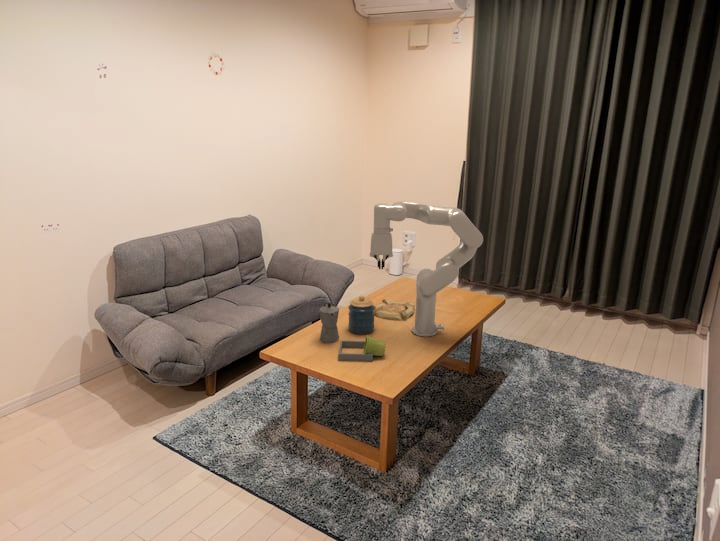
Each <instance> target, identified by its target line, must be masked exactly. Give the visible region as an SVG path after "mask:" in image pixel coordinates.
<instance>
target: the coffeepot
mask: <svg viewBox="0 0 720 541" xmlns="http://www.w3.org/2000/svg"><path fill="white" fill-rule="evenodd" d="M318 310H319V317H320V322H321V324H322V325H321V330H320V336H319V340H320V341H321V342H323V343H327V344H329V343H330V344H332V343H336V342H338V341H339V339H340V335H339V334H340V333H339V329H338V326H337V323H338V319H339V313H340V312H339V311H340V308H339V307H337V306H335V305H334V306H333V305H332V303H330V302H329V303H327V302H325V303H324V304H323V306H321V307H320V309H318Z"/></svg>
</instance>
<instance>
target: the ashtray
mask: <svg viewBox="0 0 720 541" xmlns="http://www.w3.org/2000/svg"><path fill="white" fill-rule="evenodd" d="M374 306H375V305H374ZM415 308H416V304H415V303H414V302H410V301H409V302H408V301H407V302H404V301H402V302H401V301H389V300H388V299H386V298H384V299H382V300H381V302H380V303H378V304H377V305H376V306H375V309H374V313H375V315H374V317H375V316H376V317H377V318H379V319H383V320H388V321H391V320H392V321H399V322H402V321H407V320H408V319H409V317H410V316H411V315H414V314H415V313H416V310H415Z"/></svg>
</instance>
